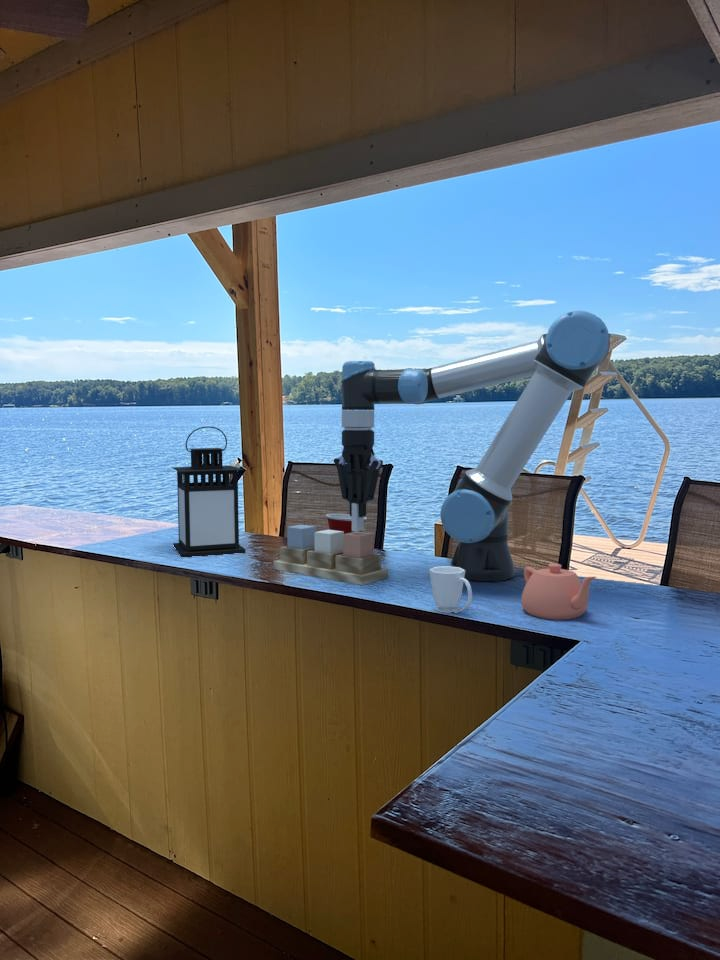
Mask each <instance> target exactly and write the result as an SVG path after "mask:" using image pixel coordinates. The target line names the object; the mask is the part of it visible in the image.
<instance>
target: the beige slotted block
mask: <svg viewBox="0 0 720 960" xmlns="http://www.w3.org/2000/svg"><path fill="white" fill-rule="evenodd" d="M373 554H374V555H373V556H369V557H365V558H361V559H360V558H353V557H347V556H343V551H342V552H337V553H333V554H327V553H321V552H315V547H313V548H308V549H304V550H301V549H294V548H288V545H285V546H280V547H279V555H280V557H279V559H277V560H273V564H272V565H273V570H276V571H282V572H287V573H292V574H299V575H303V576H310V577H314V578H321V579H325V580H331V581H336V582H343V583H348V584H352V585H353V584H354V585H359V586H364V585H367V584H371V583H373V582H377V581H381V580H384V579H387V578H389V568H384V567H382V554H379V553H374V552H373Z"/></svg>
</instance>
